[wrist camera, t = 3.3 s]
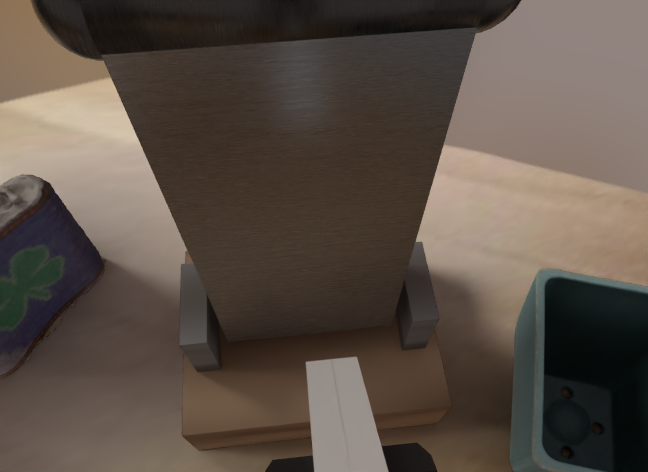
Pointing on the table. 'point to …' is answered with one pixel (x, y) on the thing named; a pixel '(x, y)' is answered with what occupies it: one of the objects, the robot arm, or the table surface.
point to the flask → (38, 266)
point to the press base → (290, 368)
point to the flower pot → (580, 376)
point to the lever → (287, 139)
